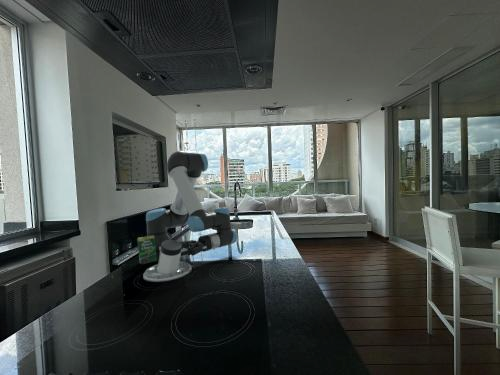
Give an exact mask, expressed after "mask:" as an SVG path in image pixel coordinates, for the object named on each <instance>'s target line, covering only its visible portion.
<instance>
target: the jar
mask: <svg viewBox="0 0 500 375" xmlns="http://www.w3.org/2000/svg"><path fill="white" fill-rule="evenodd" d="M180 242H181V241H177V240H174V239H170V240H166V241H164V242H162V244H161V249H160V250H159V257H158V260H157V264H158V273H160V274H163V275H168V274H173V273H176V272H178V267H179V261H180V260H181V257H180V256H181V250H182V249H181V248H182V245H181V243H180Z"/></svg>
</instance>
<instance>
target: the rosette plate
mask: <svg viewBox="0 0 500 375" xmlns="http://www.w3.org/2000/svg"><path fill="white" fill-rule="evenodd" d="M191 272H192V265H191V264H190V262H187V261H184V260H183V261H182V260H181V261H179V267H178V272H176V273H173V274H168V275H163V274H160V273H158V263H157V264H154V265H152V266H150V267H148V268H146V270H145V271H144V273H142V275H143V276H142V278H143V280H144V281H147V282H152V283H163V282H164V283H165V282H169V281H175V280H178V279H180V278H183V277H185V276H187V275H189V274H190V273H191Z"/></svg>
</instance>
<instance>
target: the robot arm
mask: <svg viewBox="0 0 500 375" xmlns="http://www.w3.org/2000/svg"><path fill="white" fill-rule="evenodd" d="M208 167H209V160H208V157H207V155H206V153H204V152H203V151H199V150H198V151H197V150H195V151H192V150H189V151H188V150H186V151H185V150H178V151H174V152H173V153H172V154H171V155H170V156H169V157H168V158H167V161H166V170H167V174H168V176H169V178H171V179H172V180H173V182H174V184H175V186H176V189H177V193H176V196H175V198H174V202H173V203H172V204H170V208H169V209H166V208H163V207H161V208H156V209H152V210H149V211H147V212H146V214H145V221H146V222H145V223H146V234H147V235H146V236H151V235H154V239H155V247H156V251H160V249H161V244H162V242H164V241H166V240H171V239H170V236H169V234H168V229H172V228H179V227H183V226H187V227H188V229H189V230H190V232H192V233H199V232H200V233H201V232H202V231H206V230H211V229H215V230H216V232H213V233H208V234H204V235H200V236H199V237H198V239H197V240H196V239H195V240H194V239H191V240H184V241H179V242H180V243H181V245H182V248H181V256H180V258H183V257H185V256H191V257H192V256H193V257H194V256H196V255H198V254H199V253H201V252H203V253H205V252H208V251H211V250H213V251H216V249H219V248H222V247H226V246H231V245H233V244H235V243H236V242H237V241H238V234H237V231H236V230H235V229H233V228H232V226H231V225H232V224H231V215H230V209H229V208H228V207H226V206H224V207H216V208H214V210H213V212H211V213H207V212H206V211H205V209H204V206H203V204H202V202H201V201H200V198H199V196H198V193H197V192H196V190H195V186H196V182H197V179H199V178H201V175H202V173H204V172H206V171H207V170H208Z"/></svg>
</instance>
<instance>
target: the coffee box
mask: <svg viewBox="0 0 500 375" xmlns="http://www.w3.org/2000/svg"><path fill="white" fill-rule="evenodd" d="M136 240H137V249H138V250H137V251H138V258H139V260H138V261H139V264H141V265H147V264H150V263H155V262H158V260H157V250H156V247H155V239H154V235H151V236H147V235H146V236H142V237H137V239H136Z"/></svg>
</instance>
